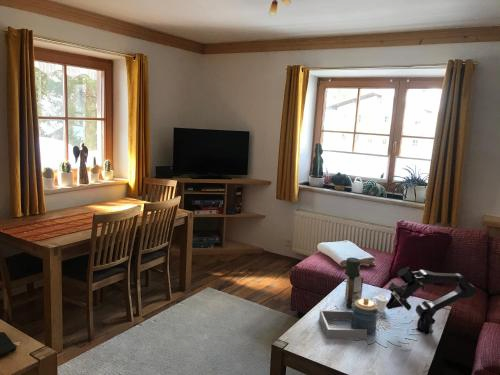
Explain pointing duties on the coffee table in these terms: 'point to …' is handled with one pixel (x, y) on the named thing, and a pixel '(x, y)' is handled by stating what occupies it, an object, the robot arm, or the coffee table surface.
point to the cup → (381, 303)
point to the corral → (340, 333)
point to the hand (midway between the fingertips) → (386, 307)
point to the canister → (364, 315)
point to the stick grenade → (352, 277)
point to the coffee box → (355, 288)
